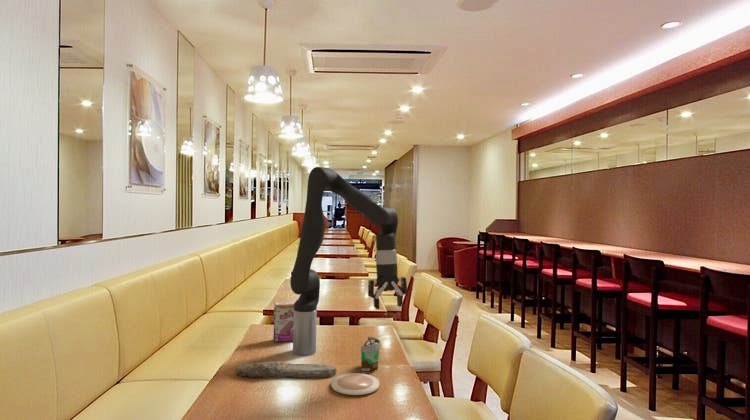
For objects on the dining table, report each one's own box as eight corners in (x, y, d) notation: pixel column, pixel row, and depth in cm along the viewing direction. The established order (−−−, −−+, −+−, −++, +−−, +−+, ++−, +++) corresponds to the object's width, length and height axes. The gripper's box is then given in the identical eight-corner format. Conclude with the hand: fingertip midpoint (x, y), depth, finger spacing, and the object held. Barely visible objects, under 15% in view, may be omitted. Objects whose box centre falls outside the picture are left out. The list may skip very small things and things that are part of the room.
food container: (377, 375, 157) (378, 347, 156) (360, 374, 158) (361, 346, 158) (383, 363, 169) (384, 337, 169) (367, 362, 170) (368, 336, 170)
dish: (332, 398, 138) (332, 393, 138) (329, 377, 154) (329, 373, 154) (383, 395, 140) (383, 390, 140) (375, 376, 156) (375, 371, 156)
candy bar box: (273, 343, 191) (274, 305, 191) (273, 339, 196) (273, 302, 196) (299, 341, 194) (300, 304, 194) (298, 338, 199) (299, 301, 199)
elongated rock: (335, 384, 152) (336, 375, 162) (336, 369, 153) (337, 360, 162) (232, 378, 151) (239, 369, 161) (233, 363, 151) (240, 354, 161)
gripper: (400, 260, 166) (402, 304, 165) (364, 263, 161) (366, 308, 160) (408, 261, 159) (411, 307, 158) (371, 264, 154) (373, 311, 153)
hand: (388, 307), depth 159 cm, fingers open, 8 cm apart
